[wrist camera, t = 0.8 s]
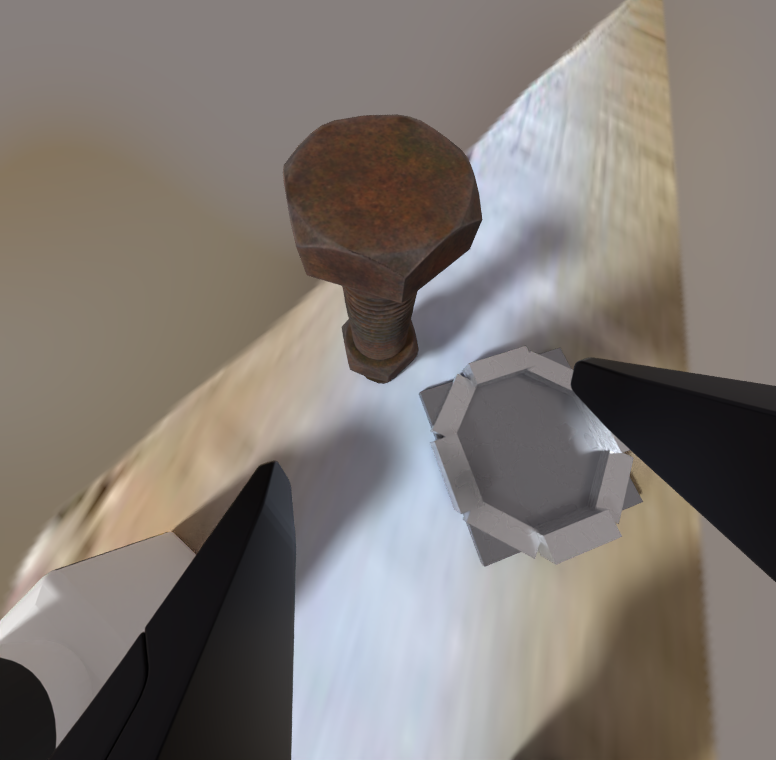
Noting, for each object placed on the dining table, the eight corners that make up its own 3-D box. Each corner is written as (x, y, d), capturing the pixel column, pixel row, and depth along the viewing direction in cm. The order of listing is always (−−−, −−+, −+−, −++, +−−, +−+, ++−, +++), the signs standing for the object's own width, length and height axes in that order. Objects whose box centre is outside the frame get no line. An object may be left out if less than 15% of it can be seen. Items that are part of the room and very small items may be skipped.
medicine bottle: (172, 527, 18) (-197, 647, 6) (251, 604, 17) (-23, 911, 5) (77, 635, 16) (-667, 1064, 5) (157, 727, 15) (-542, 1573, 4)
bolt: (385, 322, 23) (396, 82, 8) (427, 365, 22) (524, 178, 7) (330, 366, 21) (231, 174, 7) (373, 413, 20) (359, 303, 6)
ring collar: (647, 506, 19) (680, 511, 17) (476, 576, 18) (489, 592, 16) (558, 342, 23) (576, 329, 21) (408, 389, 21) (412, 381, 19)
